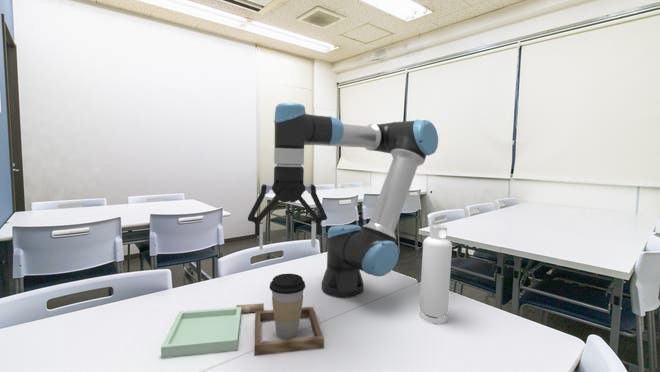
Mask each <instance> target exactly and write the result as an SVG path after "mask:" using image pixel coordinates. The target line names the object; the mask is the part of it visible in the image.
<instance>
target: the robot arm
mask: <svg viewBox="0 0 660 372" xmlns="http://www.w3.org/2000/svg"><path fill="white" fill-rule="evenodd" d="M273 123H274V152H273V153H274V154H273V155H274V157H273V158H274V159H273V160H274V161H273V164H275V165H276V166H274V168H273V184H272V185H271V184H270V185H269V184H265V183H262V184H261V188H260V193H259V194H258V197H257V198H256V200H255V202H254V204H253V206H252V208H251V210H250V212H249V214H248V216H247V221H249V222H252V223H254V235H255V237H256V236H257V237H258V236H259V250H264V249H263V247H264V246H263V244H264V243H263V240H264V238H263V237H264V235H263V234H264V233H263V232H264V228H263V227H264V224H263V223H264V222H263V219H264V218H265V217H266V216H267V215H268V214H269V213H270V211H271V210H273V208H274V207H275V206H276V205H277V204H278V203H279V202H282V203H288V202H289V203H296V202H300V204H301V205H302V207H303V208H304V209H305V210H306V211H307V213H308V214H309V215H310V216H311V217H312V219H314V220H311V233H310V234H311V235H310V236H311V237H310V238H311V239H310V241H311V242H310V245H311V247H312V249H313V248H316V245H317V235H320V233H321V223H322V222H323V221H326V220H327V219H328V216H327V214H326V212H325V210H324V207H323V205H322V203H321V201H320V199H319V196H318V194H317V189H316V185H314V184H313V183H311V184H310V185H305V183H304V177H305V175H304V173H305V169H304V167H303V166H302V165H304V164H305V146H329V147H347V148H364V149H366V150H367V151H371V152H372V151H374V152H380V153H384V154H385V153H386V154H390V155H391V156H392V157H391V158H393V159H392V160H391V164H390V166H389V168H388V172H387V174H386V177H385V179H384V183H383V185H382V188H381V190H380V193H379V195H378V197H377V200H376V204H375V207H374V209H373V211H372V214H371V217H370V219H369V221H368V223H366V224H363V225H362V228H361V226H360V225H358V224H339V225H338V224H337V225H334V226H330V227H329V229H328V231H327V236H326V239H327V241H326V242H327V243H326V245H327V247H326V250H327V251H326V270H325V272H324V275H323V278H322V280H321V290H322V292H323V293H324V294H327V295H328V296H331V297H335V298H341V299H342V298H354V297H357V295H358V296H360V295H361V294H362V293H363V292H364V288H365V286H364V280H363V277H362V273H361V271H362V272H364V273H365V274H367V275H372V276H375V277H384V276H385V275H388V274H389V273H390V272H392V270H393V269H394V268H395V266H396V265H397V263H398V260H399V256H400V254H399V247H398V245H397V244H396V242H397V239H398V238H397V237H396V234H395V231H396V227H397V224H398V221H399V220H400V216H401V213H402V211H403V208H404V205H405V202H406V200H407V196H408V195H409V191H410V189H411V185H412V183H413V180H414V177H415V175H416V172H417V169H418V167H420V166H421V165H424V163H425V160H426V157H427V156H431V155H433V154H434V153H436V151H437V149H438V145H439V134H438V131H437V128H436V127H435V125H434V123H432V122H431V121H429V120H426V119H424V120H423V119H416V120H408V121H407V120H406V121H395V122H387V123H386V122H385V123H379V124H378V123H377V124H376V123H369V124H368V125H359V124H358V125H356V124H349V123H347V124H346V123H343V122H342V120H341V119H339V118H337V117H332V116H326V115H325V116H324V115H315V114H309V113H306V106H305V105H304V104H300V103H296V102H282V103H278V104H277V105H276V106H275V110H274V120H273ZM270 191H272V192H273V193H274V196H273V197H272V198H271V200H270V201H269V202H268V204H267V205H266V206H265V207H264V208H263V209H262V210H261V211H260V212H259V214H257V212H258V211H259V208H260V206H261V205H262V202H263V201H264V198H265V196H266V195H267V194H269V192H270ZM305 191H307V193H308V194H309V195H310V196H311V198H312V200H313V203H314V205H315V206H316V207H315V208H316V209H317V211H318V213H319V215H317V213H316V212H315V211H314V210H313V209H312V207H311V206H310V205H309V204H308V203H307V201H306V200H305V199H304V198H303V196H302V195H303V194H304V192H305ZM256 214H257V216H256ZM359 294H360V295H359Z"/></svg>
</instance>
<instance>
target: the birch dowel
mask: <svg viewBox="0 0 660 372" xmlns="http://www.w3.org/2000/svg"><path fill="white" fill-rule="evenodd" d="M235 307H241V314H248V313H249V314H252V313H255V311H265V303H263V302H262V303H251V304H250V303H249V304H238V305H237V304H236V306H235Z"/></svg>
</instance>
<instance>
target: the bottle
mask: <svg viewBox="0 0 660 372" xmlns="http://www.w3.org/2000/svg"><path fill="white" fill-rule="evenodd" d="M447 235H448V226H447V225H444V224H435V223H434V224H430V226H429V236H427V237H425V239H424V240H423V241H422V242H423V243H422V260H421V275H420V276H421V277H420V290H419V291H420V294H419V309H418V310H419V313H418V316H419V315H420V316H419V318H420V317H421V318H422V319H424V320H426V321H428V322H432V323H443V324H445V323H447V322H446V321H448V312H449V311H448V310H449V301H450V300H449V298H450V297H449V296H450V284H451V283H450V281H451V267H452V266H451V265H452V256H453V255H452V252H453V251H452V250H453V243H452V242H451V240H450V239H448V238H447ZM444 316H445V317H444ZM421 318H420V319H421ZM422 319H421V320H422ZM424 320H423V321H424ZM426 321H425V322H426ZM428 322H427V323H428ZM444 322H445V323H444ZM432 323H431V324H432Z"/></svg>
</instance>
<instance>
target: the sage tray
mask: <svg viewBox="0 0 660 372" xmlns="http://www.w3.org/2000/svg"><path fill="white" fill-rule="evenodd" d="M241 321H242V313H241V307H236V306H235V307H223V308H210V309H197V310H185V311H183V310H182V311H178V313H177V315H176V316H175V318H174V321H173V323H172V325H171V327H170V329H169V331H168V333H167V335H166V337H165V339H164V341H163V343H162V344H161V346H160V358H161V359H164V358H165V359H166V358H173V357H182V356H183V357H184V356H193V355H203V354H212V353H213V354H214V353H222V352H231V351H238V350H239V349H238V347H239V341H240V338H239V337H240V331H241V323H242V322H241Z"/></svg>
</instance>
